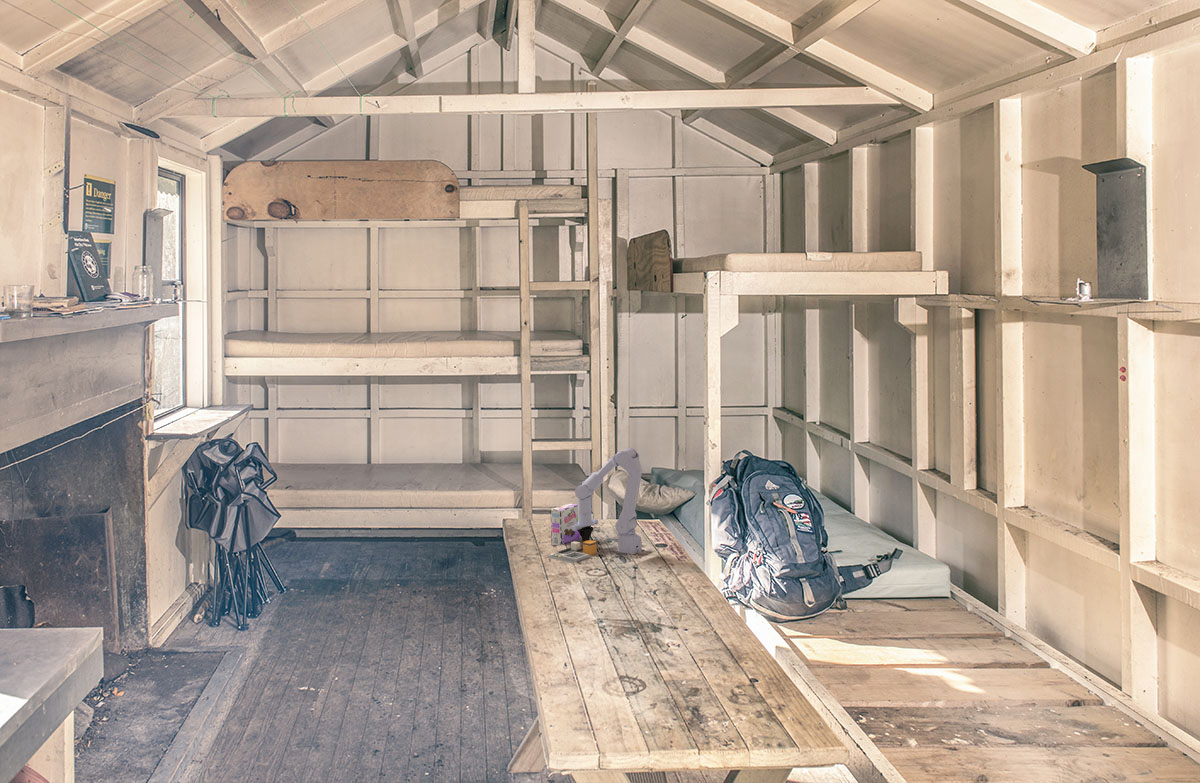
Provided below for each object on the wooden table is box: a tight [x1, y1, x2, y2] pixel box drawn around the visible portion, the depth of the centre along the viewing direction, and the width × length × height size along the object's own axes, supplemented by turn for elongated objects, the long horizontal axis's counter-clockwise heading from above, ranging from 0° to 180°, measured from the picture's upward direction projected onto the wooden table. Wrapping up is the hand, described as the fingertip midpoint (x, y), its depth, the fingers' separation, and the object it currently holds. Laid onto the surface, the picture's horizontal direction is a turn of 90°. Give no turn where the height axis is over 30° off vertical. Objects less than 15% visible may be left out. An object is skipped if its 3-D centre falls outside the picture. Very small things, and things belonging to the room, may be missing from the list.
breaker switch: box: [570, 540, 581, 550], centre depth 391 cm, size 3×2×3 cm
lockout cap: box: [582, 539, 598, 555], centre depth 385 cm, size 4×4×5 cm
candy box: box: [550, 503, 582, 547], centre depth 408 cm, size 14×6×16 cm, turn 143°
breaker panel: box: [545, 546, 603, 564], centre depth 384 cm, size 16×18×3 cm
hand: (585, 544), depth 396 cm, fingers closed
